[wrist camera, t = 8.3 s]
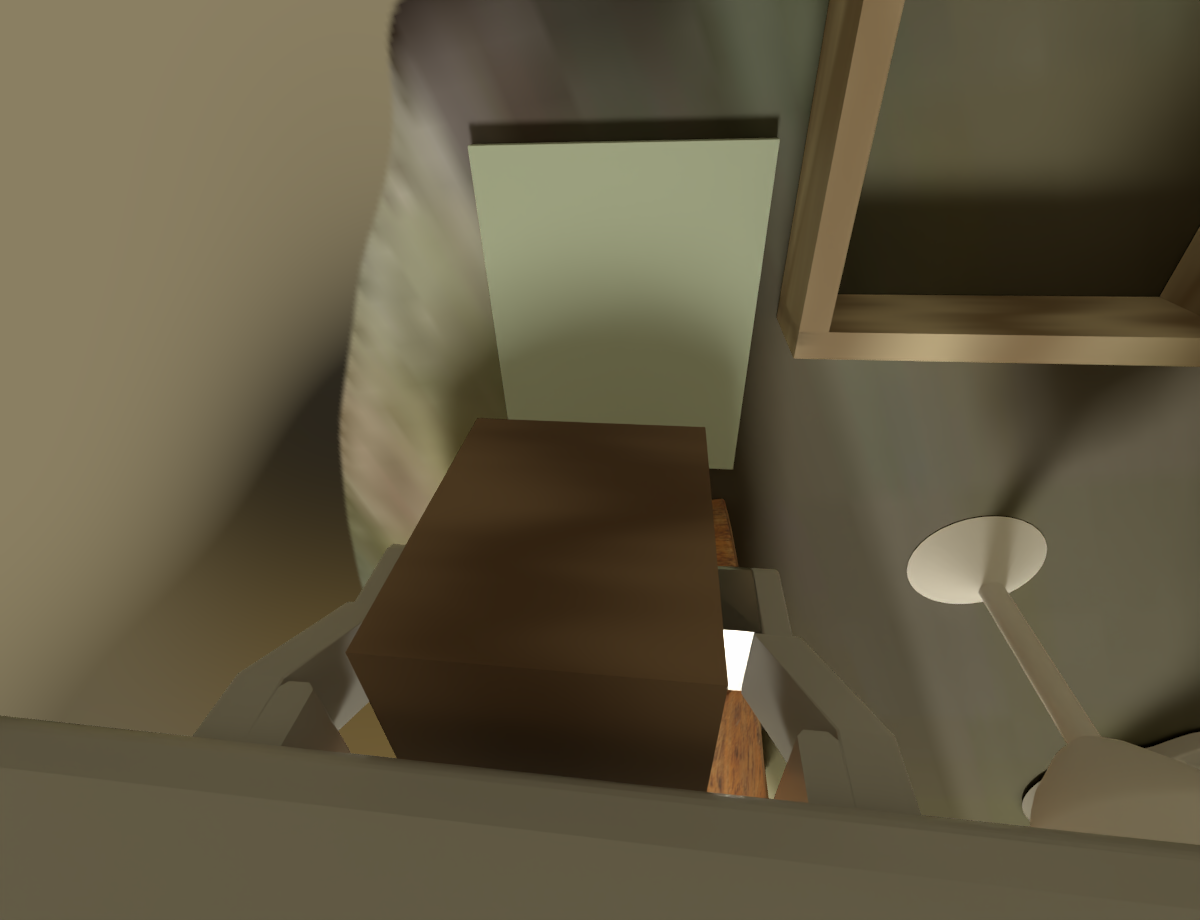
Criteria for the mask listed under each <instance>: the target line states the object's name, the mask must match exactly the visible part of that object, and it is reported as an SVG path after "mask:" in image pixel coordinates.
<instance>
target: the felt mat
mask: <svg viewBox="0 0 1200 920" xmlns="http://www.w3.org/2000/svg"><path fill="white" fill-rule="evenodd" d="M779 142H780V139H778V138H738V139H690V140H643V141H595V142H548V143H500V144H471V145H469V146H468V152H469V159H470V165H471V172H472V179H473V186H474V193H475V199H476V206H477V213H478V220H479V226H480V233H481V240H482V247H483V254H484V260H485V267H486V274H487V281H488V288H489V294H490V301H491V308H492V315H493V322H494V328H495V335H496V342H497V349H498V356H499V362H500V369H501V376H502V383H503V389H504V396H505V403H506V410H507V417H508V419H512V420H538V421H563V422H589V423H614V424H640V425H665V426H691V427H705V428H706V440H707V451H708V462H709V468H710V469H733V465H734V458H735V451H736V444H737V437H738V430H739V422H740V415H741V408H742V401H743V394H744V387H745V380H746V373H747V366H748V359H749V352H750V345H751V338H752V331H753V324H754V317H755V310H756V303H757V296H758V289H759V282H760V275H761V268H762V261H763V254H764V247H765V240H766V233H767V226H768V219H769V212H770V205H771V198H772V191H773V184H774V177H775V170H776V163H777V156H778V149H779Z"/></svg>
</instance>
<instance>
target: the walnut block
mask: <svg viewBox="0 0 1200 920" xmlns="http://www.w3.org/2000/svg"><path fill="white" fill-rule="evenodd" d="M345 653H346V655H347V657H348V659H349V661H350V663H351V665H352V667H353V669H354V671H355V673H356V675H357V678H358V680H359V682H360V684H361V686H362V688H363V690H364V692H365V694H366V696H367V698H368V700H369V702H370V704H371V706H372V708H373V709H374V712H375V714H376V716H377V718H378V720H379V722H380V724H381V726H382V729H383V730H384V733H385V735H386V737H387V739H388V741H389V743H390V745H391V747H392V749H393V751H394V753H395V755H396V757H397V759H406V760H416V761H425V762H434V763H444V764H453V765H462V766H472V767H481V768H490V769H500V770H509V771H518V772H528V773H537V774H546V775H556V776H565V777H574V778H583V779H592V780H602V781H611V782H620V783H629V784H638V785H648V786H657V787H666V788H675V789H684V790H694V791H703V792H707V788H708V783H709V778H710V773H711V768H712V764H713V759H714V754H715V749H716V744H717V739H718V734H719V729H720V724H721V719H722V714H723V709H724V705H725V700H726V695H727V690H728V677H727V665H726V654H725V643H724V632H723V620H722V609H721V598H720V586H719V575H718V564H717V553H716V541H715V530H714V519H713V507H712V496H711V485H710V473H709V462H708V451H707V440H706V428H705V427H691V426H665V425H640V424H614V423H589V422H563V421H538V420H512V419H487V418H477V420H476V421H475V423H474V425H473V427H472V428H471V430H470V432H469V434H468V436H467V437H466V439H465V441H464V443H463V444H462V446H461V448H460V450H459V452H458V453H457V455H456V457H455V459H454V460H453V462H452V464H451V466H450V468H449V469H448V471H447V473H446V475H445V476H444V478H443V480H442V482H441V483H440V485H439V487H438V489H437V491H436V492H435V494H434V496H433V498H432V499H431V501H430V503H429V505H428V507H427V508H426V510H425V512H424V514H423V515H422V517H421V519H420V521H419V523H418V524H417V526H416V528H415V530H414V531H413V533H412V535H411V537H410V538H409V540H408V542H407V544H406V546H405V547H404V549H403V551H402V553H401V554H400V556H399V558H398V560H397V562H396V563H395V565H394V567H393V569H392V570H391V572H390V574H389V576H388V578H387V579H386V581H385V583H384V585H383V586H382V588H381V590H380V592H379V593H378V595H377V597H376V599H375V601H374V602H373V604H372V606H371V608H370V609H369V611H368V613H367V615H366V617H365V618H364V620H363V622H362V624H361V625H360V627H359V629H358V631H357V632H356V634H355V636H354V638H353V640H352V641H351V643H350V645H349V647H348V648H347V650H346V652H345Z"/></svg>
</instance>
